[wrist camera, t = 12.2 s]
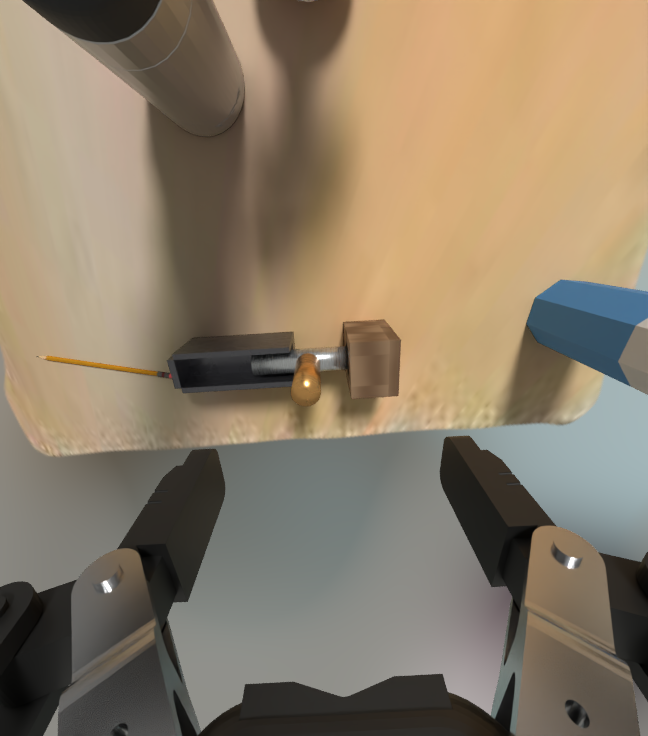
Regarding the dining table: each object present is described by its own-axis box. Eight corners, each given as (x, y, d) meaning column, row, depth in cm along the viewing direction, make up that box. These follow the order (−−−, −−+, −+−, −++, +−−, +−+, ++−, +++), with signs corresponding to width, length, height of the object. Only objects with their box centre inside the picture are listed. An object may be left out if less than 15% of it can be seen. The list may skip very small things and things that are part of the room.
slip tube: (258, 369, 41) (239, 410, 31) (254, 348, 40) (233, 383, 30) (376, 362, 41) (394, 401, 31) (376, 340, 39) (395, 373, 30)
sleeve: (195, 372, 44) (176, 393, 38) (187, 338, 42) (165, 354, 36) (296, 366, 44) (293, 386, 38) (293, 331, 42) (289, 347, 36)
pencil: (175, 374, 45) (173, 373, 44) (174, 378, 45) (172, 378, 44) (39, 354, 43) (34, 353, 42) (37, 359, 43) (33, 358, 42)
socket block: (345, 368, 44) (351, 398, 36) (343, 322, 41) (349, 343, 33) (383, 366, 44) (398, 396, 36) (384, 319, 41) (400, 339, 33)
